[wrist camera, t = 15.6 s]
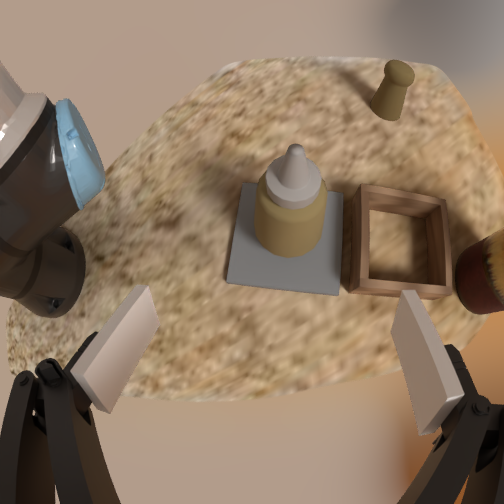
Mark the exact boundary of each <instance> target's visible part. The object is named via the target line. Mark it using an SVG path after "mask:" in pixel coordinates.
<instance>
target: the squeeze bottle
mask: <svg viewBox="0 0 504 504" xmlns="http://www.w3.org/2000/svg"><path fill="white" fill-rule="evenodd" d="M327 195H328V192H327V188H326V185H325V181H324V180H323V179H322V177H321V174H320V170H319V168H318V167H317V166H316V165H315V164H314V162H313V161H311V160H309V159H308V158H306V155H305V151H304V148H303V147H302V146H301V145H299V144H292V145H290V146H289V147H288V150H287V152H286V154H285V155H283V156H281V157H279V158H277V159H275V160H274V161H273V162H272V163H271V164H270V165H269V166H268V168H267V171H266V172H265V173H264V174H263V175H262V176H261V178H260V179H259V182H258V186H257V189H256V200H255V214H254V227H255V234H256V237H257V238H258V240H259V242H260V243H261V245H262V246H263V247H264V248H265V249H266V250H268V251H269V252H271V253H272V254H274V255H277V256H281V257H285V258H292V257H298V256H303V255H304V254H306V253H307V252H309V251H311V250H312V249H314V247H315V246H316V244H317V243H318V242H319V240H320V239H321V235H322V230H323V224H324V217H325V210H326V203H327Z"/></svg>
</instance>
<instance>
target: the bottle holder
mask: <svg viewBox="0 0 504 504" xmlns="http://www.w3.org/2000/svg"><path fill="white" fill-rule="evenodd" d="M369 210H376V211H382V212H388V213H395V214H401V215H407V216H412V217H418V218H424V219H425V220H426V233H427V252H428V284H417V283H406V282H396V281H386V280H375V279H368V277H369V241H370V224H369ZM402 290H415V291H416V292H417V294H418V296H419V298H420V299H427V300H435V299H439V298H442V297H446V296H449V295H452V261H451V244H450V233H449V223H448V214H447V207H446V200H445V199H440V198H436V197H431V196H426V195H422V194H417V193H412V192H407V191H402V190H396V189H391V188H385V187H379V186H373V185H367V184H360V186H359V188H358V190H357V192H356V194H355V196H354V198H353V200H352V241H351V266H350V282H349V293H353V294H364V295H376V296H387V297H400V296H401V292H402Z"/></svg>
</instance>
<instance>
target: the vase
mask: <svg viewBox="0 0 504 504" xmlns="http://www.w3.org/2000/svg"><path fill="white" fill-rule="evenodd" d="M455 282H456V288H457V292H458V295H459V298H460V300H461V302H462V303H463V305H464V306H465V307H466V308H467V309H468V310H469V311H470V312H472V313H474V314H488V313H493V312H499V311H504V227H503V228H502V229H500V230H498V231H497V232H495V233H493V234H492V235H490V236H488V237H487V238H485V239H483V240H481V241H480V242H478V243H476V244H474V245H473V246H471V247H469V248H467V249H466V250H465V251H464V252H463V253H462V254H461V255H460V257H459V259H458V262H457V265H456V271H455Z"/></svg>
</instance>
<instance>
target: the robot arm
mask: <svg viewBox="0 0 504 504" xmlns="http://www.w3.org/2000/svg"><path fill="white" fill-rule="evenodd" d="M104 184H105V171H104V167H103V164H102V161H101V158H100V156H99V154H98V151H97V149H96V146H95V144H94V142H93V139H92V137H91V135H90V133H89V131H88V129H87V127H86V125H85V123H84V121H83V119H82V117H81V115H80V113H79V112H78V110H77V108H76V107H75V105H74V104H72V102H71V101H70V100H69V99H63V100H59V101H58V102H57V103H56V105H53V104H52V103H51V101H50V100H49V99H48V98H47V96H46V95H45V94H44V93H24V92H23V91H22V89H21V88H20V87H19V86H18V84H17V83H16V82H15V81H14V79H13V78H12V76H10V74H9V72H8V71H7V70H6V68H5V67H4V66H3V64H2V63H1V62H0V296H2V297H7V298H11V299H15V300H16V301H18V302H19V303H20V304H22V305H23V306H25V307H26V308H27V309H29V310H30V311H32V312H33V313H34V314H36V315H39V316H42V317H48V318H57V317H60V316H62V315H64V314H65V313H66V312H68V311H69V310H70V309H71V308H72V306H73V305H74V304H75V302H76V300H77V299H78V297H79V294H80V292H81V289H82V286H83V282H84V277H85V255H84V251H83V248H82V245H81V243H80V241H79V240H78V238H77V237H76V236H75V235H74V234H73V233H71V232H69V231H67V230H66V229H64V228H61V227H60V226H61V225H62V224H63V223H64V222H66V221H67V220H68V219H69V218H70V217H72V216H73V215H74V214H75V213H76V212H78V211H79V210H82V209H83V208H84V205H85V204H86V203H88V202H89V201H90V200H91V199H92V198H93V197H95V196H96V195H97V194H98V193H99V192H100V191H101V190H102V188H103V186H104ZM159 326H160V323H159V319H158V316H157V313H156V310H155V306H154V303H153V300H152V296H151V293H150V289H149V286H148V285H136V286H135V287H134V288H133V290H132V291H131V292H130V293H129V295H128V296H127V297H126V298H125V299H124V301H123V302H122V303H121V304H120V306H119V307H118V308H117V309H116V311H115V312H114V313H113V314H112V316H111V317H110V318H109V320H108V321H107V322H106V323H105V325H104V326H103V327H102V329H101V330H100V331H99V332H94V333H93V334H91V335H90V336H89V337H87V339H86V340H85V341H84V343H83V344H82V346H81V347H80V348H79V349H78V352H76V353H75V354H74V356H73V357H72V358H71V360H70V361H69V363H68V364H67V365H66V367H65V368H64V369H63V370H62V368H61V366H60V365H59V363H58V362H57V361H56V360H55V359H52V358H48V359H45V360H43V361H41V362H40V363H39V364H38V365H37V367H36V368H35V373H36V375H37V376H38V378H36V377H35V376H34V374H33V373H32V372H31V371H27V370H26V371H22V372H21V373H19V374H18V375H17V376H16V378H15V380H14V383H13V387H12V390H11V393H10V397H9V400H8V404H7V408H6V412H5V417H4V421H3V425H2V430H1V435H0V504H55V485H56V489H57V493H58V497H59V501H60V504H121V503H120V500H119V498H118V496H117V493H116V491H115V488H114V485H113V483H112V480H111V477H110V474H109V471H108V469H107V465H106V462H105V459H104V456H103V452H102V449H101V445H100V442H99V438H98V435H97V431H96V427H95V423H94V418H93V414H92V411H91V409H90V405H91V403H93V404H94V406H95V407H96V408H97V409H98V410H100V411H103V412H106V413H109V414H110V413H111V411H112V409H113V407H114V406H115V404H116V402H117V400H118V398H119V396H120V395H121V393H122V391H123V389H124V387H125V385H126V384H127V382H128V380H129V378H130V376H131V375H132V373H133V371H134V369H135V367H136V366H137V364H138V362H139V360H140V359H141V357H142V355H143V353H144V351H145V350H146V348H147V346H148V345H149V343H150V341H151V339H152V338H153V336H154V334H155V332H156V331H157V329H158V327H159ZM391 334H392V337H393V340H394V343H395V347H396V350H397V353H398V356H399V359H400V363H401V366H402V369H403V373H404V376H405V380H406V383H407V387H408V391H409V395H410V398H411V402H412V406H413V410H414V415H415V419H416V423H417V428H418V432H419V435H425V434H429V433H434V432H435V431H436V430H437V429H438V428H439V427H440V425H441V428H442V433H441V434H440V435H439V437H438V438H437V439H436V440H435V441H434V442H433V444H435V445H434V447H433V449H432V451H431V453H430V454H429V456H428V458H427V459H426V461H425V463H424V465H423V466H422V468H421V469H420V471H419V473H418V474H417V476H416V477H415V479H414V480H413V482H412V483H411V485H410V486H409V488H408V489H407V491H406V492H405V493H404V495H403V496H402V497H401V499H400V500H399V502H398V503H397V504H454V502H455V500H456V499H457V497H458V495H459V493H460V491H461V489H462V487H463V485H464V483H465V481H466V479H467V477H468V475H469V478H468V481H467V485H466V489H465V493H464V496H463V499H462V502H461V504H504V405H498V404H491V403H490V402H489V400H488V399H487V398H486V397H484V396H481V395H479V394H478V393H477V390H476V388H475V386H474V383H473V381H472V378H471V376H470V374H469V372H468V369H466V365H465V363H464V362H463V359H462V357H461V354H460V352H459V351H458V350H457V349H456V348H455V347H454V346H453V345H452V344H449V345H443V343H442V341H441V338H440V336H439V334H438V332H437V330H436V328H435V326H434V324H433V322H432V320H431V318H430V316H429V315H428V313H427V311H426V309H425V307H424V305H423V303H422V301H421V300H420V298H419V296H418V294H417V292H416V291H415V290H402V292H401V296H400V300H399V304H398V308H397V311H396V315H395V318H394V322H393V325H392V329H391ZM33 410H34V411H35V415H34V416H33V415H32V413H33Z"/></svg>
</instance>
